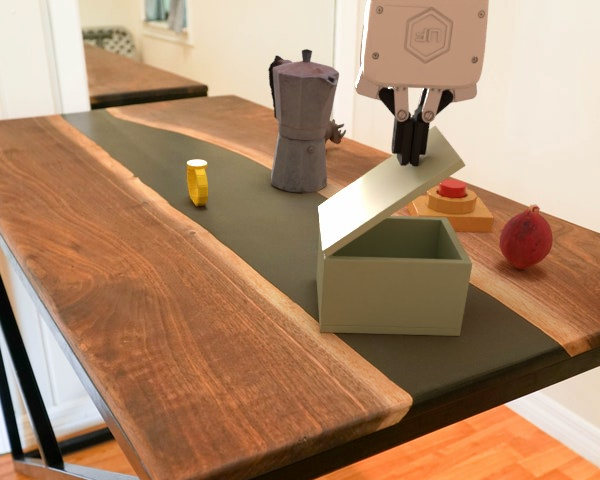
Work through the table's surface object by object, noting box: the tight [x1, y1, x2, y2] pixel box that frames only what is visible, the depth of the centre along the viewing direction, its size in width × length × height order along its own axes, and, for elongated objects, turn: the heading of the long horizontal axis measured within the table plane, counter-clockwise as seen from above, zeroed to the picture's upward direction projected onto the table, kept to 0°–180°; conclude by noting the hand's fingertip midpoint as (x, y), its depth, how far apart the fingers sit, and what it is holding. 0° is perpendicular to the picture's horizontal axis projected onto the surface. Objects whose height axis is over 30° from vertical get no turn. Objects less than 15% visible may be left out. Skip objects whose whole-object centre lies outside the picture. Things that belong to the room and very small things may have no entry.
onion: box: [499, 204, 554, 271], centre depth 76 cm, size 6×6×8 cm
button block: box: [407, 185, 495, 233], centre depth 90 cm, size 10×8×4 cm
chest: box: [316, 215, 473, 337], centre depth 67 cm, size 14×12×8 cm
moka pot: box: [267, 48, 340, 194], centre depth 98 cm, size 10×15×20 cm, turn 42°
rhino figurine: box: [324, 118, 347, 145], centre depth 117 cm, size 4×14×6 cm, turn 129°
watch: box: [186, 159, 209, 207], centre depth 92 cm, size 6×3×6 cm, turn 24°
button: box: [438, 179, 468, 199], centre depth 89 cm, size 4×4×2 cm
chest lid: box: [317, 125, 466, 257], centre depth 63 cm, size 14×12×1 cm
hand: (407, 161), depth 61 cm, fingers closed
